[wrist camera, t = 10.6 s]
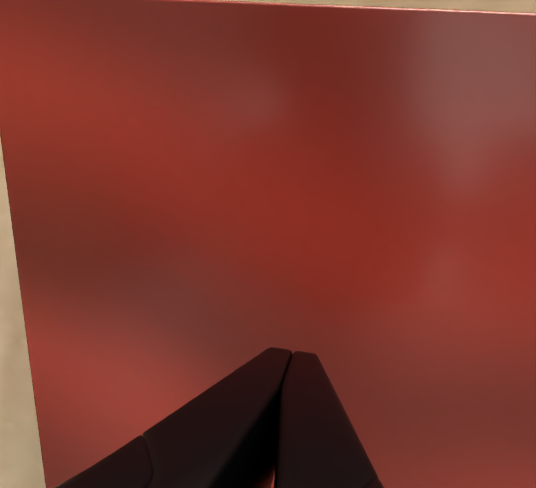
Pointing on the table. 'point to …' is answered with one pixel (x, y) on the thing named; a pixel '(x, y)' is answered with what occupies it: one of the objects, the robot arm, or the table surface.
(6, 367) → the table surface
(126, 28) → the lid
